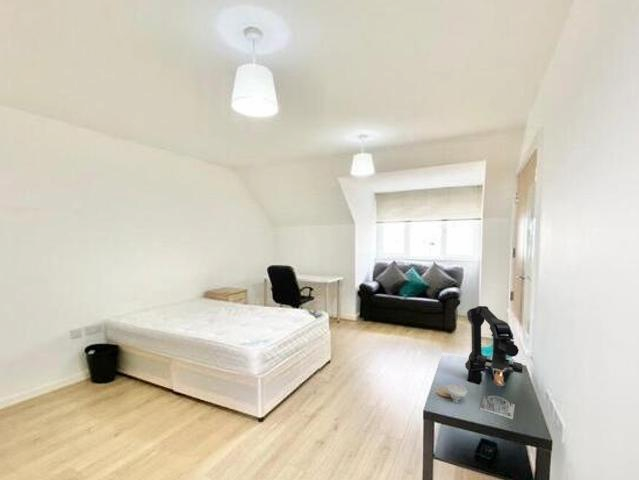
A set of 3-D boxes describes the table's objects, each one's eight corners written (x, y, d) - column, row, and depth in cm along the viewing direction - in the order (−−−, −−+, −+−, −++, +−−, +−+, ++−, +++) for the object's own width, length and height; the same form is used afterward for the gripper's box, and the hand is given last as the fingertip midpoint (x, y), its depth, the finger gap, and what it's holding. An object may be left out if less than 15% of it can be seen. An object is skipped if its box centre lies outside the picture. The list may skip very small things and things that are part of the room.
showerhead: (441, 382, 159) (459, 381, 161) (440, 396, 159) (458, 395, 161) (451, 392, 150) (471, 390, 152) (451, 407, 150) (470, 405, 152)
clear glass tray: (480, 409, 149) (480, 402, 149) (484, 397, 160) (484, 390, 159) (512, 419, 142) (512, 411, 141) (514, 406, 152) (514, 399, 152)
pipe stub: (492, 384, 151) (493, 371, 151) (493, 380, 155) (494, 368, 155) (503, 386, 149) (504, 373, 149) (504, 383, 153) (504, 370, 153)
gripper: (475, 349, 150) (474, 382, 151) (522, 358, 140) (521, 394, 140) (478, 343, 160) (478, 374, 160) (523, 351, 149) (522, 384, 149)
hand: (498, 381), depth 152 cm, fingers closed on pipe stub, 4 cm apart
